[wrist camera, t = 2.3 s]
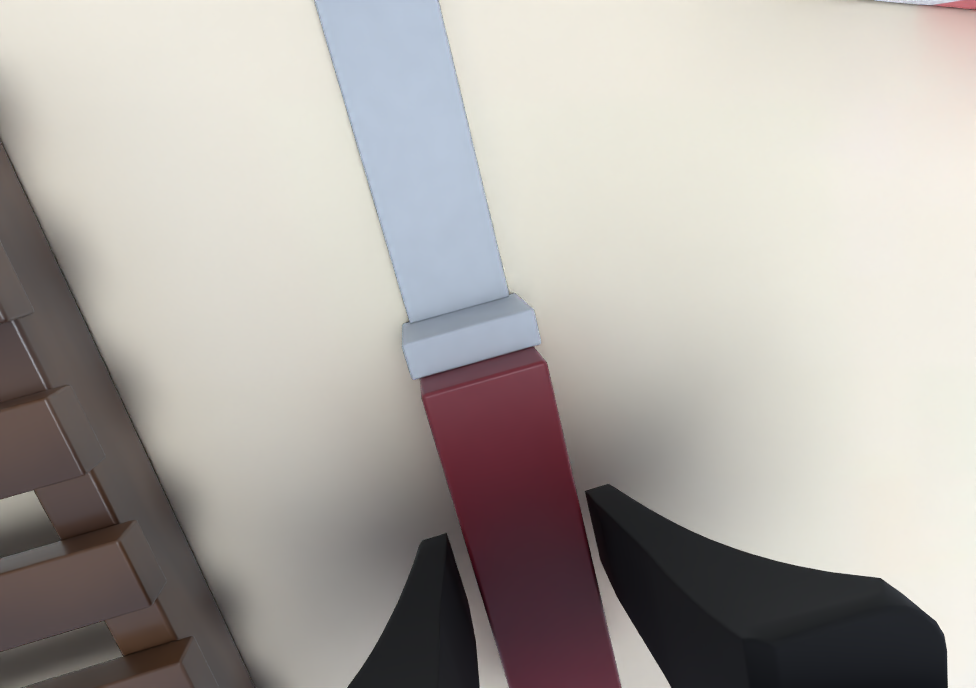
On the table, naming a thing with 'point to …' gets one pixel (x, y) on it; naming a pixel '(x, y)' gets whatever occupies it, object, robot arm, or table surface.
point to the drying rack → (89, 493)
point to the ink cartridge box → (940, 3)
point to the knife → (471, 345)
